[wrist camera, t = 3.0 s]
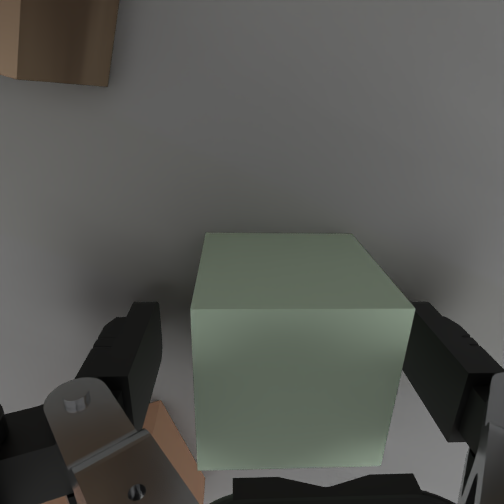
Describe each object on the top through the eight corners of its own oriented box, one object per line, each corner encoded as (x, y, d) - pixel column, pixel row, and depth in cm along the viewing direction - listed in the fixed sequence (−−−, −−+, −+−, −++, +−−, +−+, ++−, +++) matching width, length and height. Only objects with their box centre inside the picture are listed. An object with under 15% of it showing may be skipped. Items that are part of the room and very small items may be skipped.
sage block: (206, 231, 13) (190, 309, 8) (350, 232, 13) (415, 308, 8) (208, 352, 15) (197, 470, 10) (334, 351, 15) (380, 465, 10)
